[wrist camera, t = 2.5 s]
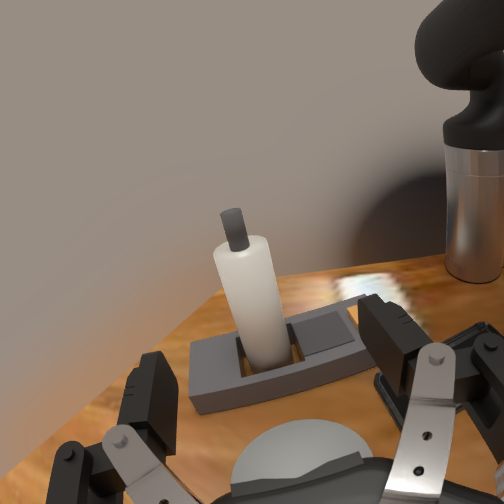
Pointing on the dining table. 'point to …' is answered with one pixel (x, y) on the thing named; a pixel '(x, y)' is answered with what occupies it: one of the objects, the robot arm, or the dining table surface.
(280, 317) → the white and grey cylinder
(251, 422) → the dining table surface
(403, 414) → the phone
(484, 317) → the dining table surface
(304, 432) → the pad
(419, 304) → the dining table surface
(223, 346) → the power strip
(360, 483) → the robot arm
